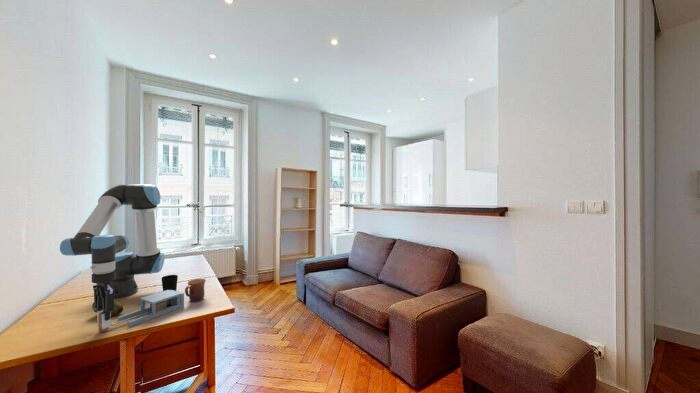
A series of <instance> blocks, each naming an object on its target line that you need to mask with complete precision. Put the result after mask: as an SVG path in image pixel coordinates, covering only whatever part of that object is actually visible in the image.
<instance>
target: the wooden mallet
mask: <svg viewBox="0 0 700 393" xmlns="http://www.w3.org/2000/svg"><path fill="white" fill-rule="evenodd" d="M149 306H150V311H149V312H147V313H144V314H141V315H138V316H134V317H131V318H128V319H125V320H122V321H119V322H118V321H116V322H113V323H111V326H110V327H107V328H104V329H102V314H101V313H100V314H99V327H98V332H99V333H100V332H101V333H103V332H106V331H108V330H109V329H110V328H111V327H114V326H117V325H120V324H124V323H126V322H129V321H131V320H134V319H137V318H140V317H142V316H145V315H148V314H151V313H152V304H149ZM167 306H168V305H167V301H166V300H165V301H162V302H159V303H156V311H159V310H162V309H165V308H167Z"/></svg>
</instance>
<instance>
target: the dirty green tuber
mask: <svg viewBox="0 0 700 393" xmlns="http://www.w3.org/2000/svg"><path fill="white" fill-rule="evenodd" d="M91 306H92V307H91V308H92V311H93V312H95V313H97V310H96V309H97V308H96V309H95V308H94V302H93V303H92V305H91ZM122 312H124V306H123V305H122V304H121V303H120V302H119V301H117V300H115V299H114V310H113V311H111V317H114V316H117V315H118V316H119V314H121V313H122Z"/></svg>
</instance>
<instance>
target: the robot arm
mask: <svg viewBox="0 0 700 393" xmlns="http://www.w3.org/2000/svg"><path fill="white" fill-rule="evenodd" d="M159 204H161V193H160V190H159V188H158V187H157V186H156V185H154V184H143V183H142V184H138V183H137V184H128V183H126V184H119V185H115V186H112V187H111V188H110V189H108V190H105V192H104V193H102V194H101V195H100V197H99V198H98V199H97V205H96V206H95V208H94V209H93V210H92V211H91V213H90V215H88V217H87V219H86V220H85V221H84V223H83V224H82V226H81V227H80V228H79V230H78V232H77V233H76V234H75V235H74V236H73V237H69V238H65V239H63V240H62V241H61V242H60V244H59V251H60V253H61V255H63V256H68V257H69V256H74V257H75V256H87V255H90V256H91V266H90V267H89V268H90V269H91V273H92V274H91V283H93V284H94V285H93V286H92V289H93V303H94V308H95V309H96V308H97V309H96V310H97V316H96V317H97V327H98V328H99V314H100V313H101V314H102V329H104V328H107V327H109V328H111V327H112V326H111V324H112V318H111V317H112V316H111V311H113V310H114V300H115V299H118V298H123V297H128V296H131V295H133V294H136V293H137V292H138V291H139V286H138V284H137V282H136V280H135V275H136V276H138V275H152V274H156V273H160V272H161V271H162V269H163V267H164V264H165V259H166V258H165V253H163V252H161V249H160V248H158V247H157V243H158V242H157V230H156V219H155V218H156V216H155V210H156V209H157V208H158V205H159ZM122 206H131V210H133V211H134V212H135V218H136V219H135V220H136V231H137V232H136V233H137V243H138V251H137V252H136V253H135V252H133V251H131V252H130V251H129V252H123V251H124V250H126V249H127V248H128V247H129V244H130V241H129V238H128V237H126V236H125V235H121V234H119V235H113V234H102V232H103V230H104V228H105V227H106V226H107V224H108V222H109V221H110V219H111V217H112V216H113V215H114V213H115V211H116V210H119V209H120V207H122ZM120 252H123V253H120ZM117 253H119V254H117ZM110 326H111V327H110Z"/></svg>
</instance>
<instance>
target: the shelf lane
mask: <svg viewBox="0 0 700 393" xmlns="http://www.w3.org/2000/svg"><path fill="white" fill-rule="evenodd" d="M139 300H140V308H139V309H137V310H134V311H131V312H128V313H126V314H122V315H118V316H117V322H119V321H122V320H125V319H128V318H131V317H134V316H138V315H141V314H144V313H147V312H150V304H152V313H151V314H148V315H145V316H142V317H139V318H136V319H133V320H129V321H127V322H128V327H130V328H131V327H133V326H137V325H139V324H141V323H145V322H148V321H149V320H152V319H155V318H158V317H160V316H162V315H165V314H168V313H171V312H173V311H174V312H175V311H176V310H179V309H181V308H184V307H185V292H181V291H178V290H176V291H174V290H166V291H163V290H162V291H160V292H157V293H153V294H150V295H147V296H142V297H140V298H139ZM162 301H167V306H168V307H166V308H165V309H162V310H159V311H156V303H159V302H162ZM146 303H147V304H149V306H146ZM169 305H171V306H169Z"/></svg>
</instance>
